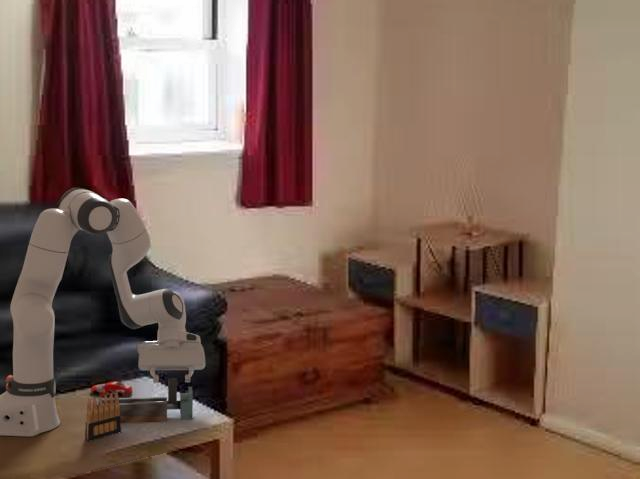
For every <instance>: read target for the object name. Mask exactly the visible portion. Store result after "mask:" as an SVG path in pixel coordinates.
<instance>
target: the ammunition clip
mask: <svg viewBox="0 0 640 479" xmlns="http://www.w3.org/2000/svg"><path fill="white" fill-rule="evenodd" d="M108 397H109V407H108V399H107V398H108ZM113 398H115V401H114V404H113ZM119 398H120V397H118V393H117V392H116V394H115V396H112V394H110V396H106V395H105V396H104V398H102V395H99V397H98V399H99V401H98V410H97V401H96V399H97V398H96V397H93V400H92V401H91V398H89V399H88V401H87V405H86V406H87V407H86V422H85V431H84V435H85V436H84V439H85V440H86V441H88V442H90V441H89V440H92V441H95V440H99V439H102V438H105V436H106V437H109V435H110V436H113V435H116V434H120V433H122V427H121V426H122V423H121V417H120V407H119ZM102 399H104V405H102ZM92 409H93V410H92ZM119 432H120V433H119ZM112 434H113V435H112ZM98 438H99V439H98ZM94 439H95V440H94Z"/></svg>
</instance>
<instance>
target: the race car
mask: <svg viewBox="0 0 640 479" xmlns="http://www.w3.org/2000/svg"><path fill="white" fill-rule="evenodd" d="M116 392H117V393H118V398H126V397H129V396H131V395H132V393H133V388H132V385H130V384H128V383H125V382H121V381H109V382H107V383H100V384H95V385H93V386H91V388H90V394H92V395H93V396H96V397H97V396H104V397H105V395H106V396H107V397H110V394H112V396H113V397H115V394H116Z"/></svg>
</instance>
